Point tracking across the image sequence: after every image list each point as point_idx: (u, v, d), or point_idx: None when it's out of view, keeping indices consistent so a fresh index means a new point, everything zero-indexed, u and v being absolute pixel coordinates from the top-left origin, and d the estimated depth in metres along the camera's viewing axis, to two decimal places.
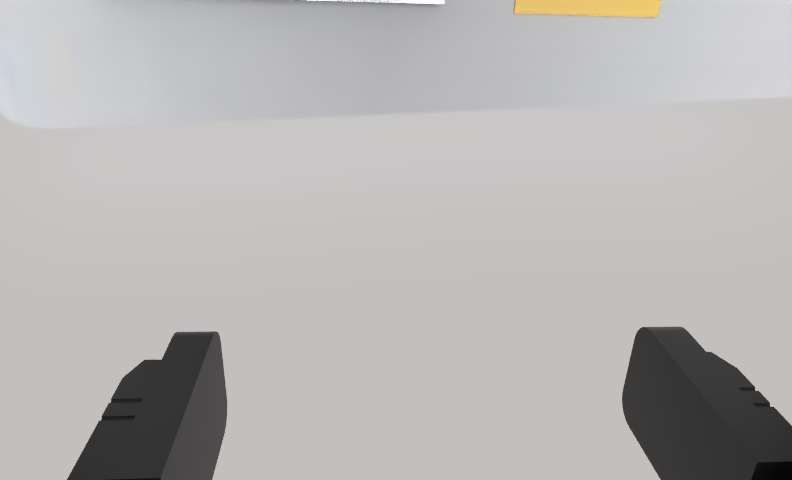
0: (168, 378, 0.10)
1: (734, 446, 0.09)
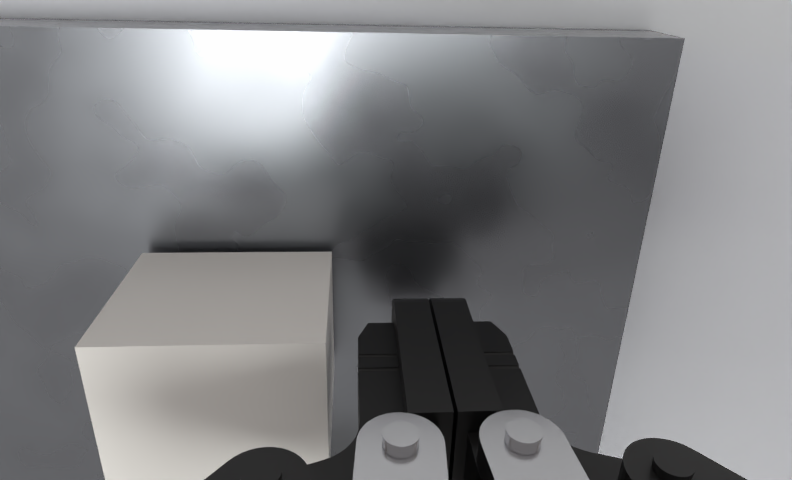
0: (411, 335, 0.11)
1: (452, 400, 0.09)
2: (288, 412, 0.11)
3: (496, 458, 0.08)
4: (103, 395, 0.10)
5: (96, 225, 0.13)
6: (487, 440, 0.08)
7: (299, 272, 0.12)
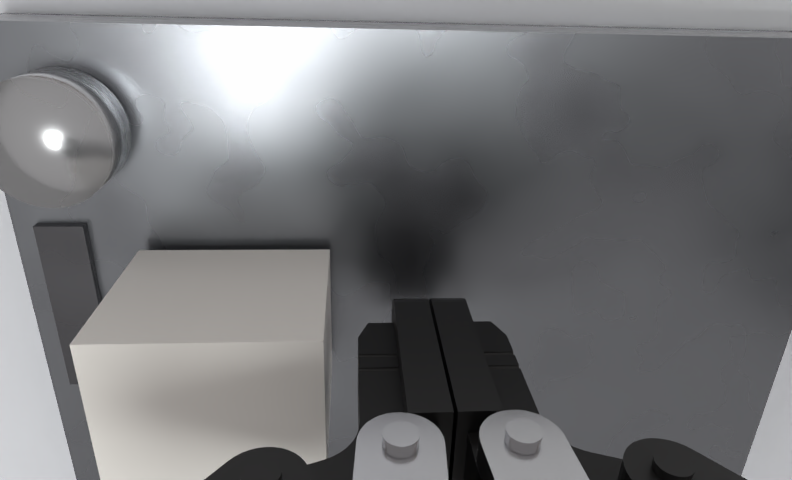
0: (411, 335, 0.11)
1: (452, 400, 0.09)
2: (286, 410, 0.11)
3: (496, 458, 0.08)
4: (98, 393, 0.10)
5: (301, 222, 0.13)
6: (487, 440, 0.08)
7: (297, 270, 0.12)
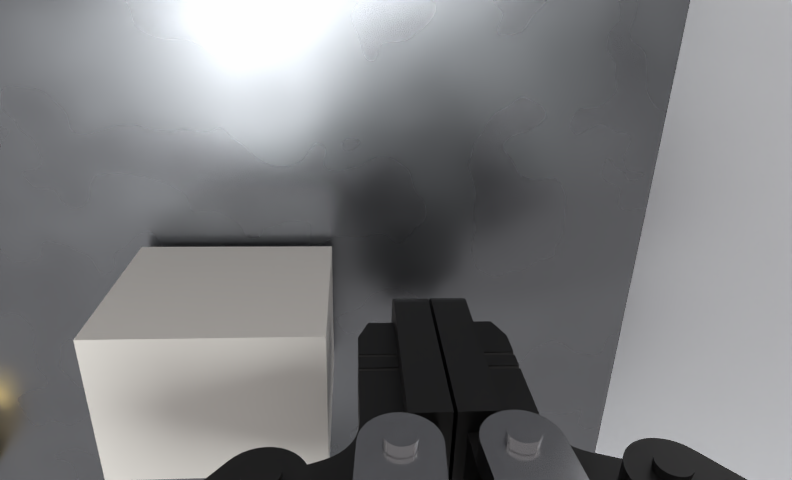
0: (411, 335, 0.11)
1: (452, 400, 0.09)
2: None
3: (496, 457, 0.08)
4: None
5: None
6: (487, 440, 0.08)
7: None
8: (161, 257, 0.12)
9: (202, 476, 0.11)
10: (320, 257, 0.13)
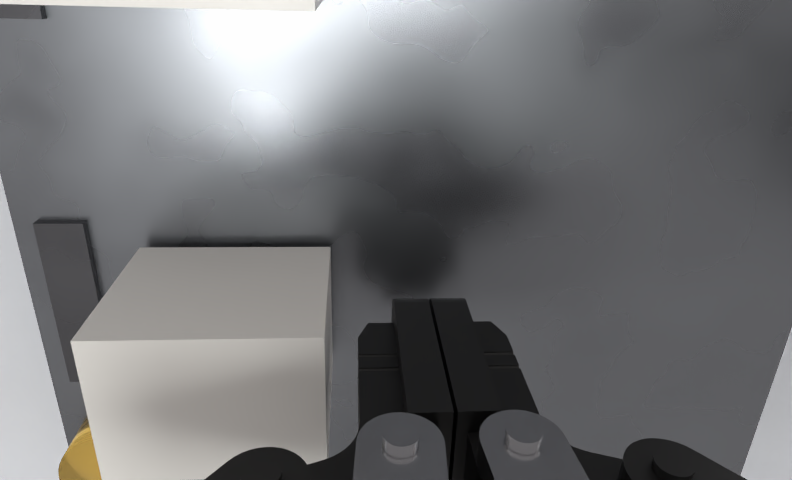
0: (411, 335, 0.11)
1: (452, 399, 0.09)
2: None
3: (496, 458, 0.08)
4: None
5: None
6: (487, 440, 0.08)
7: None
8: (159, 258, 0.12)
9: (200, 477, 0.11)
10: (319, 258, 0.13)
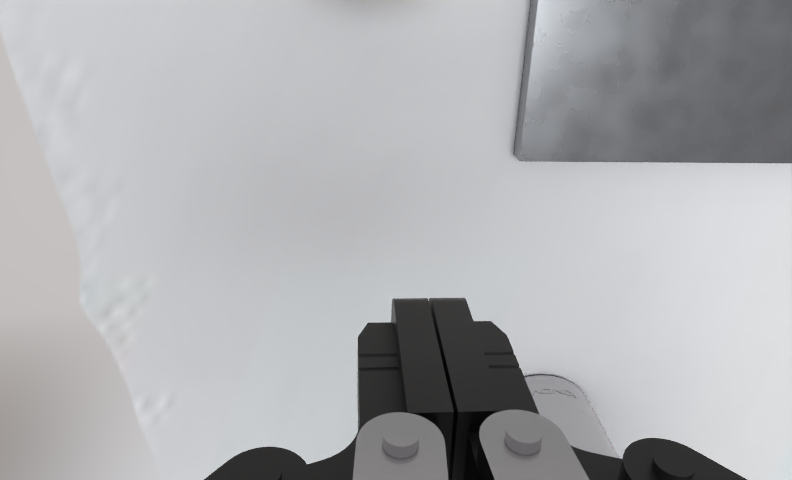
0: (411, 335, 0.11)
1: (451, 400, 0.10)
2: None
3: (496, 457, 0.08)
4: None
5: None
6: (487, 440, 0.08)
7: None
8: None
9: None
10: None
